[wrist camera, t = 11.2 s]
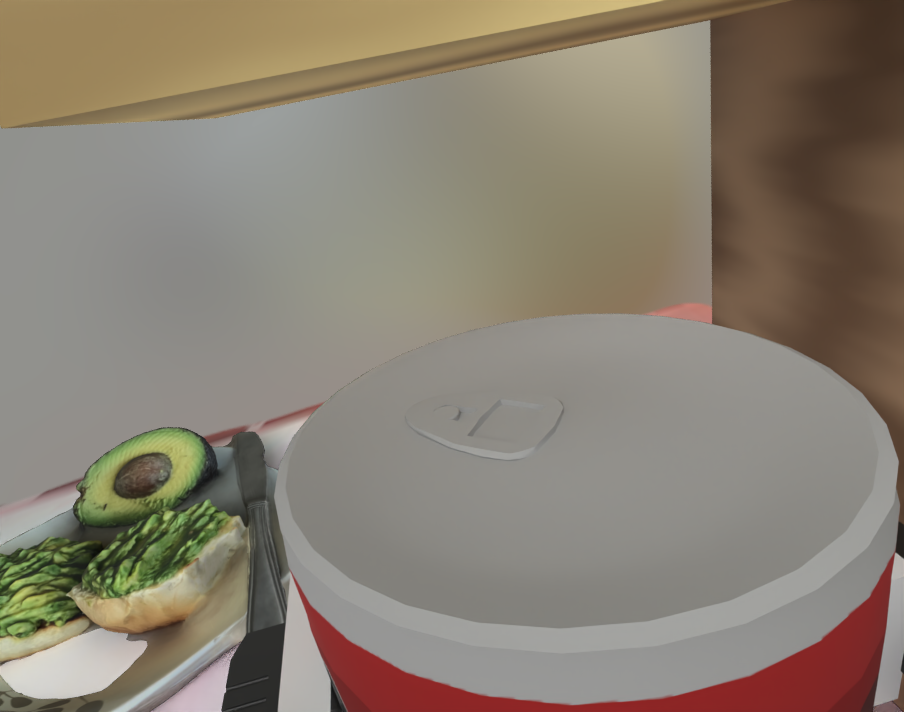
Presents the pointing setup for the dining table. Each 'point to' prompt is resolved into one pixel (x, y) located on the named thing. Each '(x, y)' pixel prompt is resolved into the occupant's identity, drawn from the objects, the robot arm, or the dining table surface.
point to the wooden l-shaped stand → (545, 30)
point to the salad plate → (150, 566)
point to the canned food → (595, 524)
